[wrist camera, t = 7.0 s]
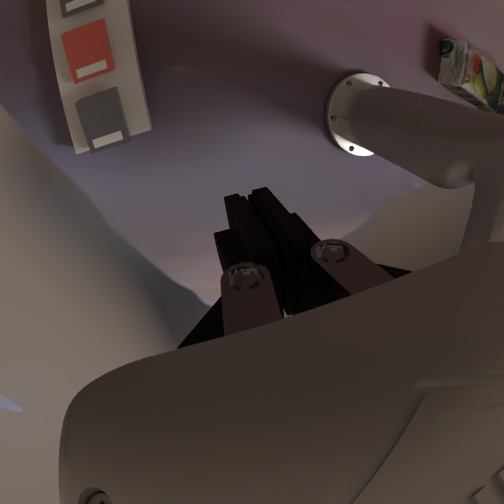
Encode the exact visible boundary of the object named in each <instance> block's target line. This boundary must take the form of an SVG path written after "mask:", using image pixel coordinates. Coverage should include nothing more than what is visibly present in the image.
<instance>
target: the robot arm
mask: <svg viewBox="0 0 504 504" xmlns="http://www.w3.org/2000/svg"><path fill="white" fill-rule="evenodd" d="M346 83H347V84H346ZM331 116H332V118H331ZM326 124H327V128H328V131H329V133H330V136H331V137H332V139H333V141H334V142H335V143H336V144H337V145H338V146H339V147H340V148H341V149H343V150H344V151H346V152H348V153H350V154H353V155H356V156H369V155H372V154H376V155H378V156H380V157H382V158H384V159H386V160H388V161H390V162H392V163H394V164H396V165H398V166H400V167H402V168H403V169H405V170H407V171H409V172H411V173H413V174H415V175H416V176H418V177H420V178H422V179H423V180H425V181H427V182H429V183H431V184H433V185H435V186H437V187H439V188H443V189H451V190H452V189H460V188H463V187H467V186H469V185H472V184H474V183H475V191H474V196H473V200H472V207H471V210H470V214H469V218H468V221H467V225H466V228H465V232H464V235H463V238H462V242H461V245H460V249H459V252H458V253H457V254H454V255H452V256H450V257H447V258H445V259H443V260H440V261H438V262H436V263H433V264H431V265H429V266H426V267H424V268H421V269H419V270H416V271H414V272H412V271H407V270H403V269H399V268H394V267H389V266H385V265H380V264H376V263H374V262H373V261H372V260H371V259H369V258H368V257H367V256H365V255H364V254H363V253H362V252H360V251H359V250H358V249H356V248H355V247H353V246H352V245H351V244H349V243H348V242H345V241H342V240H338V239H326V240H322V241H321V240H320V239H319V238H318V237H317V236H316V235H315V234H314V232H313V231H312V230H311V229H310V228H309V227H308V226H307V225H306V224H305V222H304V221H303V220H302V219H301V218H300V217H299V216H298V215H297V214H296V213H291V214H290V213H289V212H288V211H287V209H286V208H285V207H284V206H283V205H282V204H281V203H280V201H279V200H278V199H277V198H276V197H275V196H274V195H273V194H272V192H271V191H270V190H269V189H268V188H267V187H264V188H259V189H255V190H252V194H249V195H248V200H247V199H246V197H245V196H241V197H240V195H239V194H233V195H229V196H225V197H224V201H225V207H226V212H227V217H228V222H229V227H230V229H227V230H223V231H220V232H216V233H214V238H215V243H216V247H217V251H218V255H219V259H220V263H221V266H222V269H223V275H222V276H221V281H220V283H221V297H220V298H219V299H218V301H217V302H216V303H215V304H214V305H213V306H212V308H211V309H210V310H209V311H208V312H207V314H206V315H205V316H204V317H203V318H202V319H201V320H200V322H199V323H198V324H197V325H196V326H195V327H194V329H193V330H192V331H191V332H190V333H189V335H188V336H187V337H186V338H185V340H183V342H182V343H181V344H180V345H179V347H178V348H177V349H176V350H172V351H168V352H165V353H161V354H158V355H154V356H150V357H146V358H143V359H140V360H137V361H134V362H131V363H128V364H125V365H123V366H121V367H119V368H117V369H114V370H112V371H109V372H107V373H106V374H104V375H102V376H101V377H99V378H97V379H95V380H94V381H92V382H91V383H89V384H88V385H87V386H85V387H84V388H83V389H82V390H81V391H79V392H78V393H77V395H76V396H75V397H74V398H73V400H72V401H71V403H70V405H69V406H68V409H67V411H66V414H65V417H64V421H63V426H62V432H61V437H60V447H59V498H60V504H504V115H502V114H497V113H493V112H489V111H484V110H480V109H477V108H473V107H470V106H466V105H462V104H459V103H455V102H452V101H448V100H444V99H440V98H436V97H432V96H428V95H424V94H420V93H415V92H411V91H406V90H401V89H396V88H391V87H390V86H389V85H388V84H387V83H386V82H385V81H384V80H383V79H381V78H380V77H378V76H376V75H373V74H369V73H354V74H350V75H348V76H346V77H344V78H343V79H342V80H340V81H339V82H338V83H337V84H336V85H335V87H334V88H333V89H332V91H331V93H330V95H329V98H328V101H327V105H326ZM283 308H284V310H285V312H286V314H287V315H288V316H289V315H293V316H290V317H287V318H284V311H283Z"/></svg>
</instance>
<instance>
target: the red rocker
mask: <svg viewBox="0 0 504 504" xmlns="http://www.w3.org/2000/svg"><path fill="white" fill-rule="evenodd" d="M61 38H62V42H63V46H64V50H65V54H66V57H67V61H68V64H69V68H70V71H71V74H72V78H73V81H74V84H77V83H80V82H82V81H85V80H88V79H90V78H93V77H96V76H99V75H101V74H104V73H107V72H110V71H113V70H114V69H115V63H114V59H113V55H112V51H111V46H110V42H109V37H108V32H107V28H106V23H105V18H102V19H99V20H96V21H93V22H90V23H88V24H85V25H82V26H80V27H77V28H75V29H72V30H70V31H67V32H65V33H63V34H61Z"/></svg>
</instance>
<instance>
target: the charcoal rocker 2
mask: <svg viewBox="0 0 504 504" xmlns="http://www.w3.org/2000/svg"><path fill="white" fill-rule="evenodd" d="M75 107H76V110H77V113H78V116H79V119H80V122H81V125H82V128H83V131H84V134H85V137H86V140H87V143H88V146H89V148H90V151H91V154H92V153H95V152H98V151H101V150H104V149H107V148H110V147H113V146H116V145H119V144H122V143H126V142H129V141H130V133H129V129H128V126H127V122H126V118H125V115H124V111H123V107H122V103H121V100H120V96H119V92H118V88H117V86H116V87H113V88H109V89H107V90H104V91H101V92H98V93H95V94H92V95H89V96H87V97H84V98H81V99H79V100H77V101H76V103H75Z"/></svg>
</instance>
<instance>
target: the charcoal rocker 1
mask: <svg viewBox="0 0 504 504" xmlns="http://www.w3.org/2000/svg"><path fill="white" fill-rule="evenodd" d="M59 1H60V7H61V12H62V18H67V17H69V16H72V15H74V14H77V13H79V12H82V11H84V10H87V9H90V8H93V7H96V6H99V5H101V4H105V2H104V0H59Z"/></svg>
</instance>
